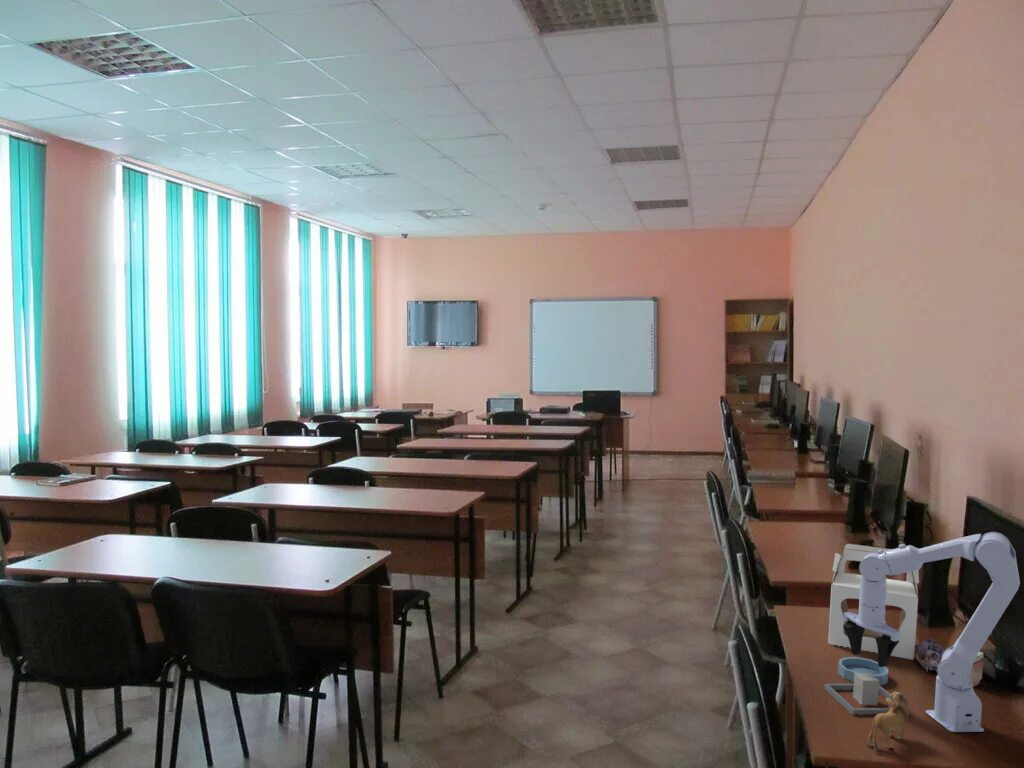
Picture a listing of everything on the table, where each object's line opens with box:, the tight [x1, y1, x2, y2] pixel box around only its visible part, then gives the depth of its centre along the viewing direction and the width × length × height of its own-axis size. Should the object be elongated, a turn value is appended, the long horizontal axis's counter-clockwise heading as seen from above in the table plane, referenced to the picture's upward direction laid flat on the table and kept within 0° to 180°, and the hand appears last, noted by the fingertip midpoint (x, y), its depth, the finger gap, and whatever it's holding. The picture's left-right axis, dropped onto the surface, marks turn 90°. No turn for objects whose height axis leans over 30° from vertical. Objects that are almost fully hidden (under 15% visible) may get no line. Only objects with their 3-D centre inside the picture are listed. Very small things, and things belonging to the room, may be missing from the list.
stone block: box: [852, 673, 880, 706], centre depth 188 cm, size 4×4×6 cm
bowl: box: [837, 656, 889, 687], centre depth 203 cm, size 12×12×2 cm
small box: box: [969, 651, 984, 688], centre depth 201 cm, size 5×4×8 cm
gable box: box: [827, 543, 920, 661], centre depth 224 cm, size 22×13×28 cm, turn 64°
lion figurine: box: [867, 691, 910, 752], centre depth 169 cm, size 15×5×9 cm, turn 137°
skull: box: [914, 638, 945, 673], centre depth 210 cm, size 12×8×6 cm, turn 151°
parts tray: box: [823, 683, 911, 716], centre depth 188 cm, size 14×14×1 cm
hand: (869, 659), depth 189 cm, fingers open, 7 cm apart
